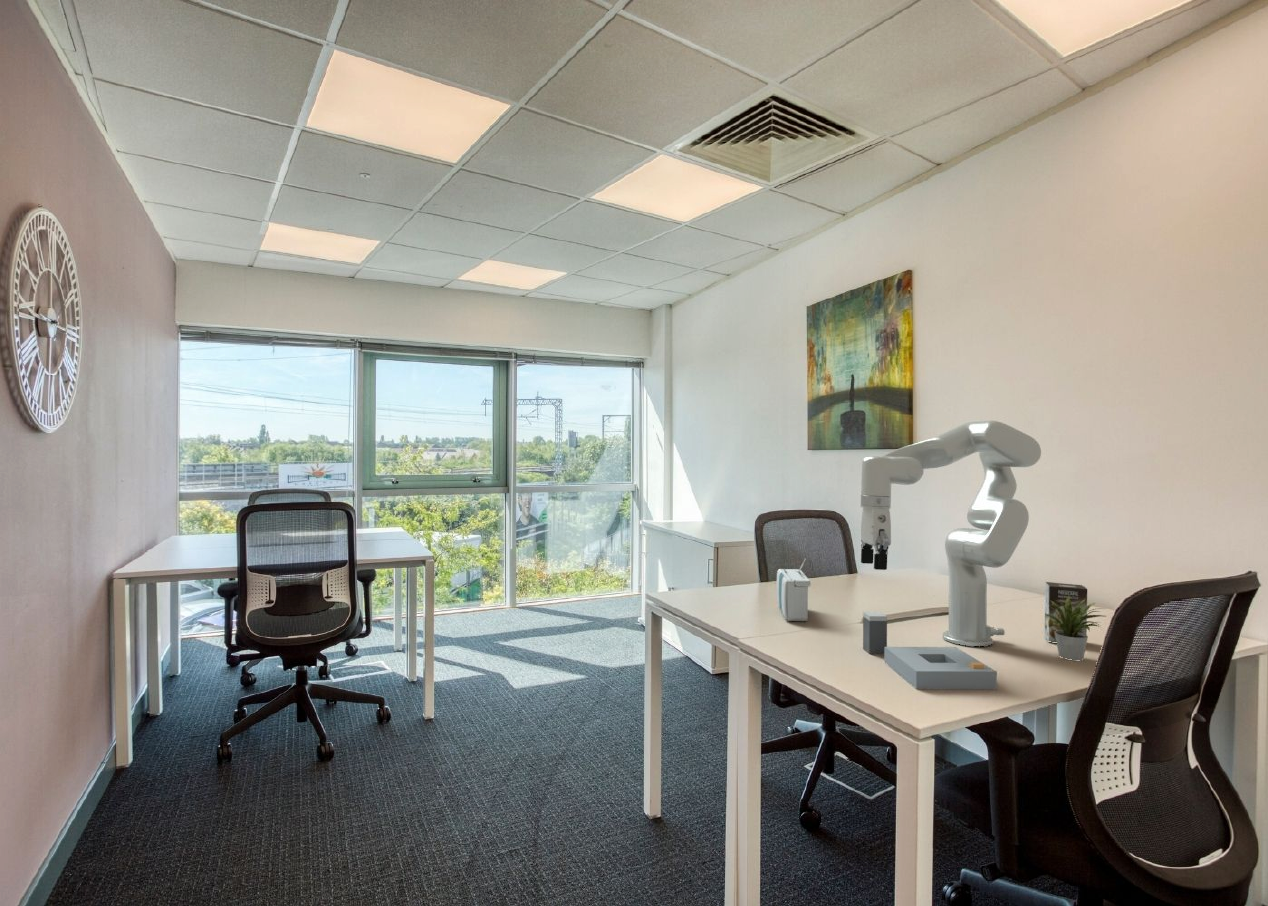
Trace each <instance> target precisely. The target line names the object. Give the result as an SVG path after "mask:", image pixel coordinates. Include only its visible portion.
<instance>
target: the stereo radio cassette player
mask: <svg viewBox="0 0 1268 906" xmlns="http://www.w3.org/2000/svg"><path fill="white" fill-rule="evenodd" d="M806 560H807V557H805V558H804V560H803V562H802V564H801V565H800V567H799V569H798V568H795V569H794V568H791V569H790V568H789V569H788V568H787V569H786V568H779V569H778V570H777V571H776V602H777V605H778V607H779V608H780V609H779V610H780V611H781V613H782V614H783V617H784V619H786V621H788V622H792V621H793V622H804V621H806V622H807V621H808V616H809V611H808V607H809V606H808V605H809V603H808V599H809V593H808V592H809V587H811V580H810V579H809V578H808V577H807V575H806V574H805V573H804V572H803V570H802V568H803V567H804V564H805V561H806Z"/></svg>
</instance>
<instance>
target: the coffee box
mask: <svg viewBox="0 0 1268 906" xmlns="http://www.w3.org/2000/svg"><path fill="white" fill-rule="evenodd" d="M1068 594H1069V596H1070V601H1071V604H1072V612H1073V611H1074V609H1075V608H1076V606H1077V605H1078V604H1079V603H1080V602H1081V601H1082V600H1084V599H1085V598H1086V599H1085V601H1084V602H1083V604H1082V605H1081V607H1080V608H1082V609H1083V608H1085V607H1086V606H1087V605H1088V588H1087V587H1086V586H1084V585H1082V584H1072V583H1062V582H1051V581H1045V595H1044V597H1045V598H1044V599H1045V600H1044V635H1045V637H1046V639H1047V640H1048V641H1051V642H1056V637H1055V631H1058V630H1062V628H1061V627H1060V626H1061V625H1060V624H1055V625H1060V626H1053V625H1054V624H1053V621H1056V620H1054V619H1053V618H1051V617H1048V616H1046V614H1050V615H1053V616H1055V617H1056V618H1057V619H1059V620H1060V622H1061V623H1062V621H1061V620H1062V619H1060V618H1061V616H1060V614H1059V612H1058V610H1057V609H1056V608H1055V606H1053V605H1052V603H1051V601H1053V602H1054V603H1056V604H1057V606H1058V607H1059V608H1060V609H1061V610H1062V611H1063V614H1064V616H1065V613H1064V611H1065V609H1064V607H1063V605H1064V606H1065V602H1066V599H1067V598H1068ZM1050 600H1051V601H1050ZM1056 600H1057V601H1056ZM1059 601H1060V602H1061V603H1063V605H1062V604H1061V603H1060V602H1059ZM1048 604H1049V605H1050V606H1049V605H1048ZM1052 608H1053V609H1054V610H1055V611H1056V612H1057V613H1058V614H1057V613H1056V612H1055V611H1054V610H1053V609H1052ZM1082 609H1081V610H1082ZM1087 611H1088V610H1087ZM1087 611H1086V612H1087ZM1086 612H1085V614H1084V615H1082V616H1086V615H1087V614H1088V612H1087V613H1086ZM1058 615H1059V616H1060V617H1059V616H1058ZM1082 616H1081V617H1082ZM1086 621H1088V619H1085V620H1083V621H1082V623H1083V622H1086ZM1056 622H1057V621H1056ZM1082 623H1081V624H1082ZM1052 624H1053V625H1052ZM1087 624H1088V623H1086V624H1084V625H1087ZM1084 628H1085V627H1084ZM1084 628H1082V629H1084ZM1082 629H1081V630H1082ZM1081 630H1079V631H1078V632H1080V631H1081ZM1087 630H1088V629H1087V628H1085V629H1084V630H1082V631H1081V632H1080V633H1083V634H1085V635H1087V636H1088V634H1087ZM1045 637H1044V638H1045ZM1046 639H1045V640H1046ZM1047 640H1046V641H1047Z"/></svg>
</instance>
